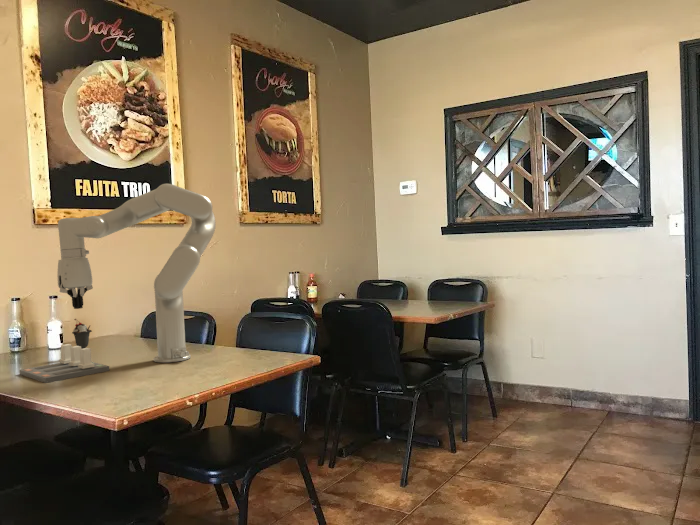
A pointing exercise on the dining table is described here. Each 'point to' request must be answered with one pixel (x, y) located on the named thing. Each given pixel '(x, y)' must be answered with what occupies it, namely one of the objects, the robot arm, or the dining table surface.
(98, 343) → the dining table surface
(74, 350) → the breaker mid
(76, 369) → the console
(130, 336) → the dining table surface
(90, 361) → the breaker near
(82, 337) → the sundae
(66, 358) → the breaker far
